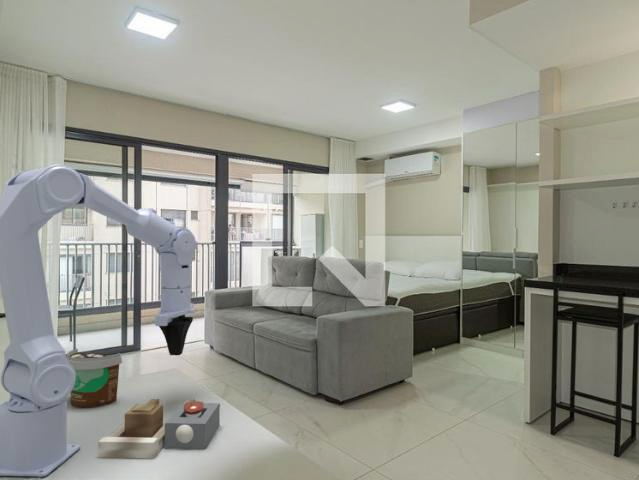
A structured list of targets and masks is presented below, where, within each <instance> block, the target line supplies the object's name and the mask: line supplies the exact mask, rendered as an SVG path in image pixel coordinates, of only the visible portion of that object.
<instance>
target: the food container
mask: <svg viewBox="0 0 639 480" xmlns="http://www.w3.org/2000/svg"><path fill="white" fill-rule="evenodd" d="M66 359H67V361H68V362H69V363H70V364H71V366H72V367H73V368H74V370H75V373H76V381H75V385H74V387H73V389H72V391H71V393H70V394H69V395H70V398H69V399H70V404H71V406H72V407H73V408H77V409H93V408H94V409H95V408H98V407H103V406H108V405H110V404H113V403H115V402H117V400H118V399H117V398H118V396H117V395H118V387H119V386H118V385H119V373H120V365H121V364H123V360H122V359H123V358H122V355H121V353H120V352H118V353H115V354H110V355H106V354H102V353H98V352H95V353H93V352H92V353H81V352H79V349H78V348H75V349H72V350H70V351H68V352H67V354H66ZM114 401H115V402H114ZM112 402H113V403H112Z"/></svg>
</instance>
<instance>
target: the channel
mask: <svg viewBox="0 0 639 480" xmlns="http://www.w3.org/2000/svg"><path fill="white" fill-rule="evenodd" d="M193 401H196V399H192V398H191V399H186V400H185V401H183V403H189V402H193ZM145 404H160V399H159V398H151V399H150V400H149V401H148V402H146V403H145ZM163 448H165V423H163V426H162V427H161V429H160V430H159V431H158V432H157V433H156V434H155V435H154V436H153V437H152V438H142V437H125V422H123V423H122V424H121V425H120V426H119V427H118V428H116V430H114V431H113V432H112V433H111V434H109V436H103V437H102V438H101V439H100V440H99V441H98V442H97V453H98V454H97V456H98V457H97V458H102V459H103V458H107V459H108V458H114V459H115V458H116V459H118V458H120V459H154V458H156V457H157V455H158V454H159V452H161V450H162V449H163Z"/></svg>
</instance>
